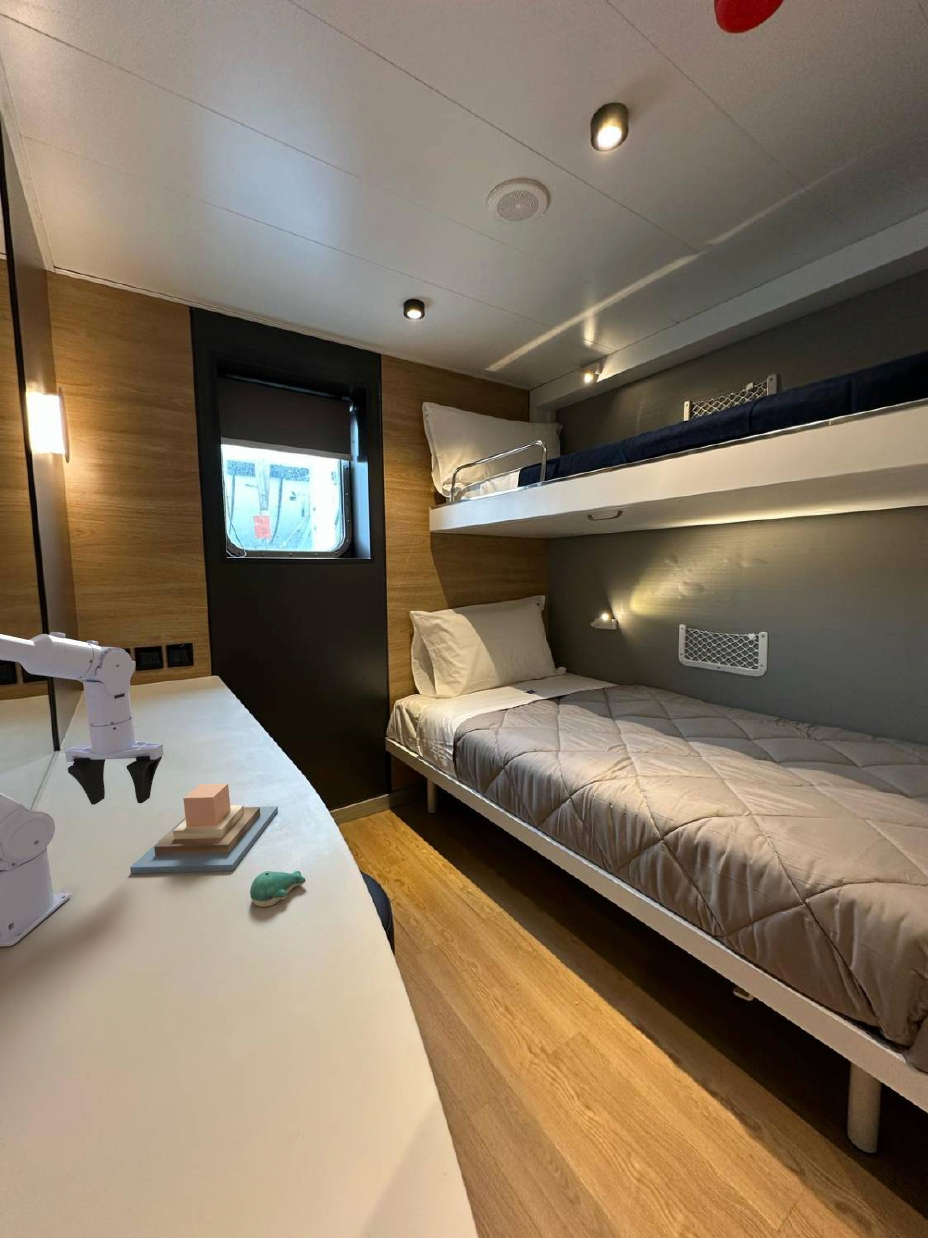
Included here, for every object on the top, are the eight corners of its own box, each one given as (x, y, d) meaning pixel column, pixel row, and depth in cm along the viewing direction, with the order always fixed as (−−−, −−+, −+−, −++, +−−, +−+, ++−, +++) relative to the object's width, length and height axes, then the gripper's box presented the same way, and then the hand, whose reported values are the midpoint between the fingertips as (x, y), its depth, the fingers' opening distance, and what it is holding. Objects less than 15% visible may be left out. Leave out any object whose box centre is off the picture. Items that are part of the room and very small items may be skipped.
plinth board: (232, 870, 76) (230, 846, 75) (130, 873, 76) (127, 849, 75) (277, 811, 93) (276, 791, 93) (195, 813, 94) (193, 793, 93)
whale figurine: (246, 894, 70) (244, 870, 70) (297, 874, 74) (295, 851, 74) (257, 917, 66) (254, 891, 65) (310, 894, 70) (309, 869, 69)
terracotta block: (216, 825, 81) (213, 797, 81) (186, 826, 81) (183, 798, 81) (230, 810, 86) (228, 783, 86) (202, 811, 86) (199, 784, 86)
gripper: (170, 711, 82) (179, 788, 84) (85, 714, 82) (95, 790, 84) (143, 725, 75) (152, 809, 77) (49, 728, 75) (61, 811, 77)
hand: (121, 801), depth 80 cm, fingers open, 7 cm apart
